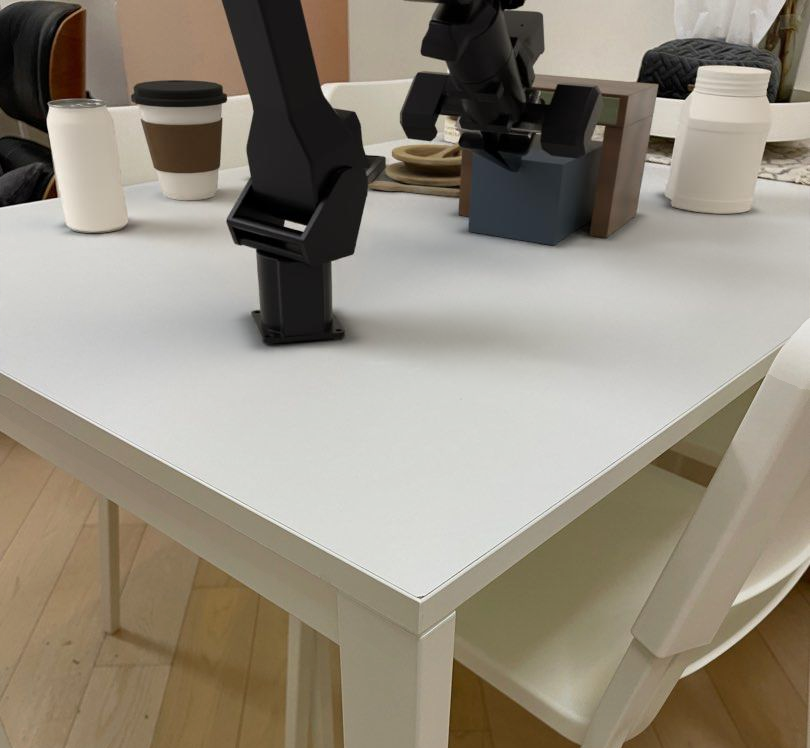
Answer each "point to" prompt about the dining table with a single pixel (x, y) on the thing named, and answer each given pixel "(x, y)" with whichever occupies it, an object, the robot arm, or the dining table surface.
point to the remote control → (374, 167)
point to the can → (87, 165)
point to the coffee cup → (183, 134)
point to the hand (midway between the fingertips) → (515, 168)
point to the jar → (720, 140)
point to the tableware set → (424, 170)
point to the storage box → (534, 195)
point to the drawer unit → (620, 155)
